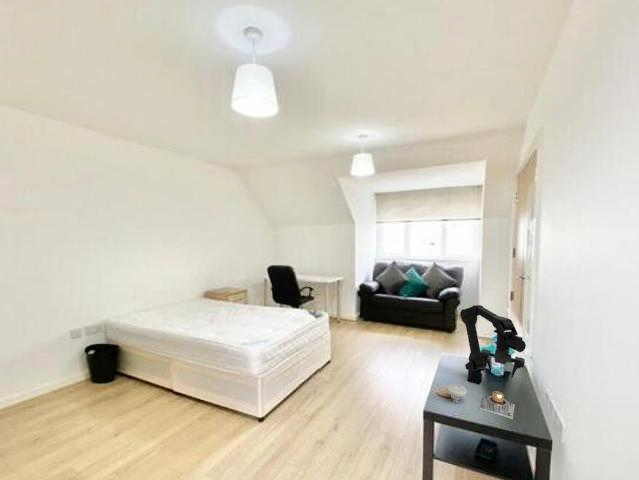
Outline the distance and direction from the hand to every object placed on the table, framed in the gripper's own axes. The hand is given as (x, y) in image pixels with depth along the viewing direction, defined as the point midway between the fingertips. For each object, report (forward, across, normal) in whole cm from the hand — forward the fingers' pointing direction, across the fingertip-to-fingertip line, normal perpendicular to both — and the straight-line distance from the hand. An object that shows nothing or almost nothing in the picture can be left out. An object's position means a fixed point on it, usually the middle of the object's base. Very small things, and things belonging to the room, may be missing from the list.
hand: (501, 374), depth 159 cm
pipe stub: (+11, 0, -11) cm, 16 cm away
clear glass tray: (+12, 0, -11) cm, 16 cm away
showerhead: (+12, -17, -18) cm, 27 cm away
